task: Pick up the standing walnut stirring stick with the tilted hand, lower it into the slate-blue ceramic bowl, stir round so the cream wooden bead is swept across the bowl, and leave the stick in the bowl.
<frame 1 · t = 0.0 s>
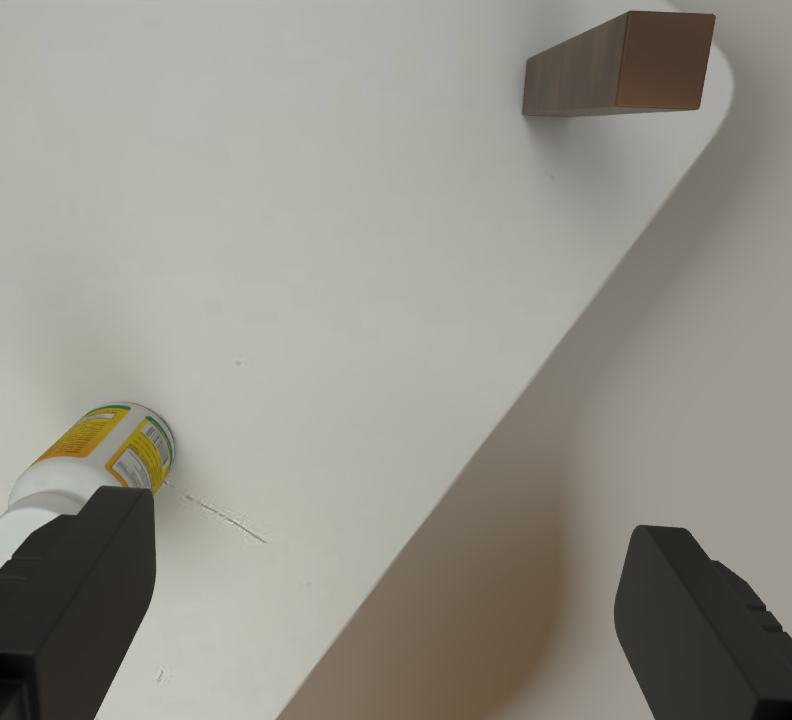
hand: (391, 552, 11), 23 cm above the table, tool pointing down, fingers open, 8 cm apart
supplement bottle: (128, 442, 36), on the table
stick: (550, 88, 30), on the table
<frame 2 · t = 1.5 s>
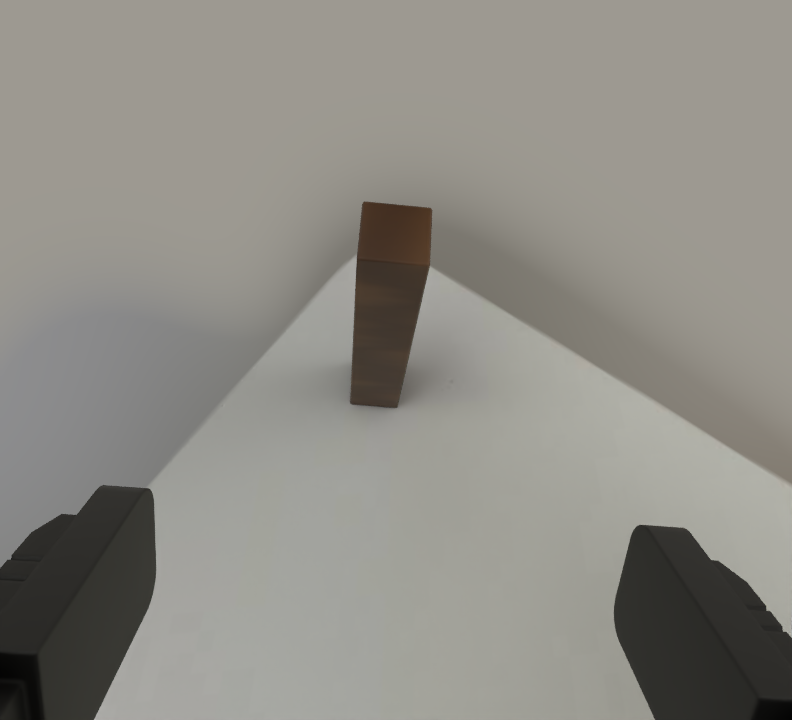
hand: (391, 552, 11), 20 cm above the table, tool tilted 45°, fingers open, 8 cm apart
stick: (375, 384, 34), on the table
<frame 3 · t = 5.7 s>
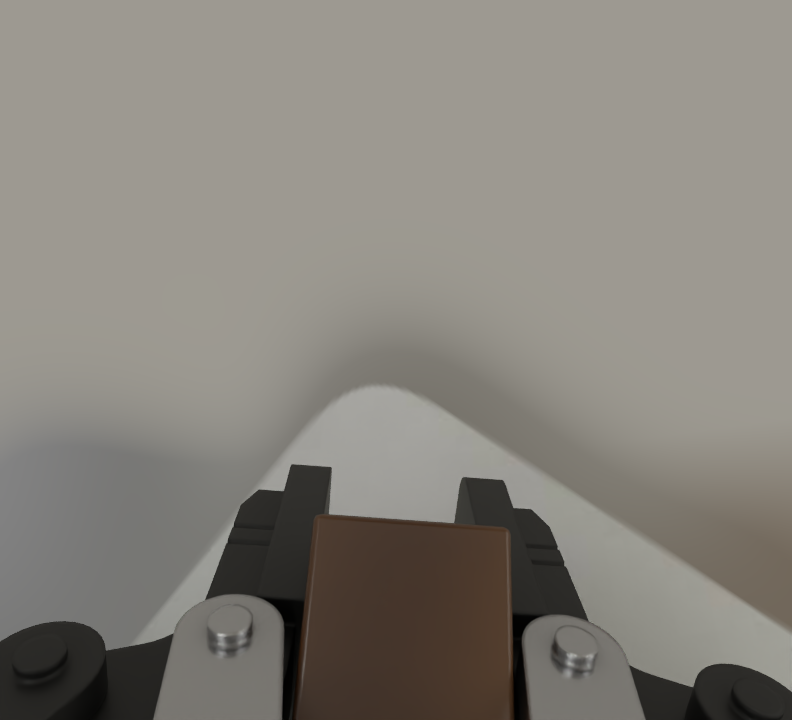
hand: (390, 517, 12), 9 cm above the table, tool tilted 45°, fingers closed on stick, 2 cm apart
stick: (365, 653, 19), on the table, touching gripper
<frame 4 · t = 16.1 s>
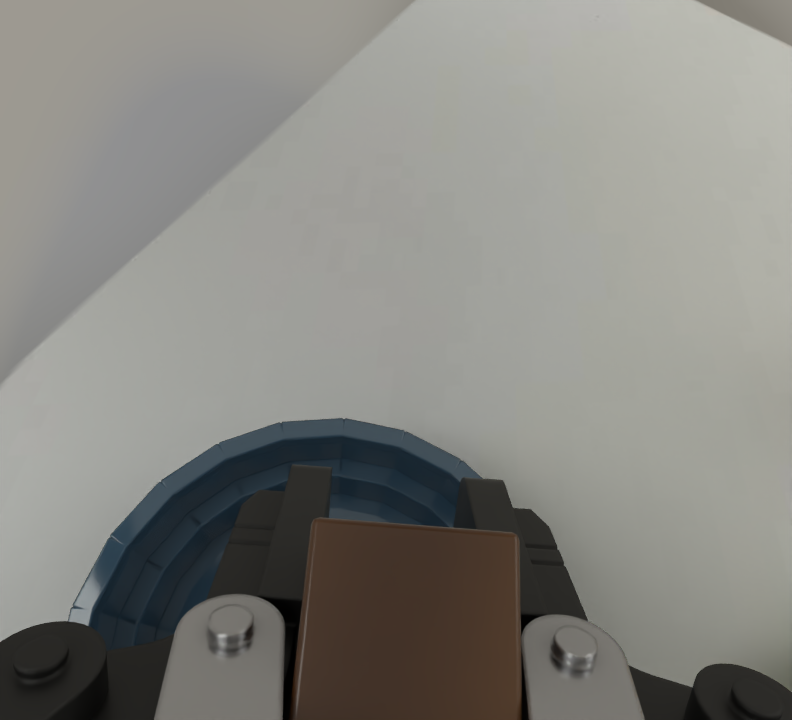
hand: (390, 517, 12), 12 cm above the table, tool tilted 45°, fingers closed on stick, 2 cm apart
bowl: (325, 663, 21), on the table
stick: (366, 646, 19), point 3 cm above the table, touching bead, gripper
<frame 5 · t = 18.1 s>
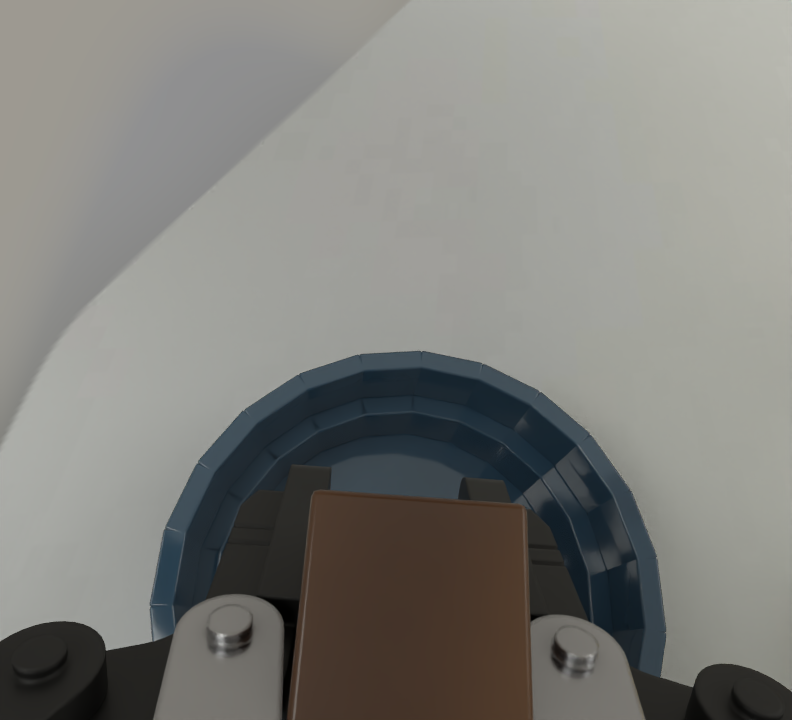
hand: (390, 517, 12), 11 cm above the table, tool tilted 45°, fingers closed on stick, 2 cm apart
bowl: (398, 599, 22), on the table
stick: (367, 642, 18), point 3 cm above the table, touching gripper
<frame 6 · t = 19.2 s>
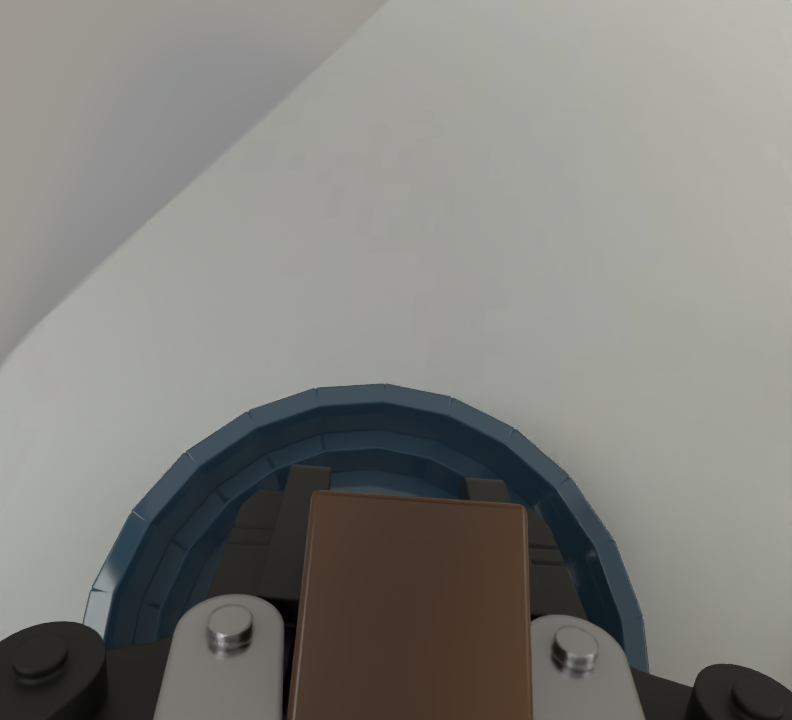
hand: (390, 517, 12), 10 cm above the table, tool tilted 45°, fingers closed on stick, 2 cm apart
bowl: (363, 651, 20), on the table
stick: (367, 642, 18), point 2 cm above the table, touching gripper
when the fingers open (9 cm above the table, at t = 19.7 s): stick stays where it is, resting on bowl.
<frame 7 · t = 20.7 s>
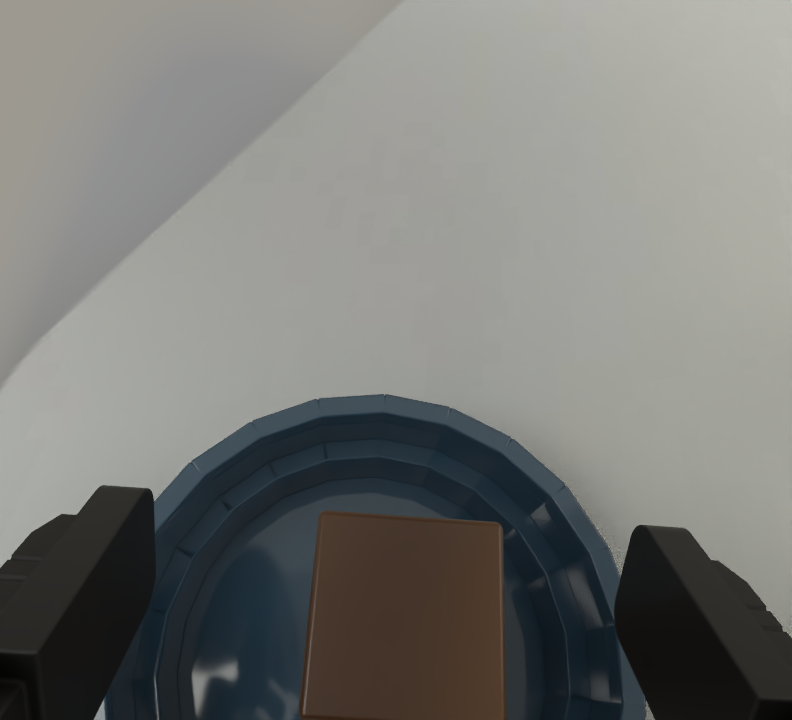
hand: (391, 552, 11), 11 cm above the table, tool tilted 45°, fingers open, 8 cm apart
bowl: (364, 656, 20), on the table
stick: (367, 648, 20), point 1 cm above the table, touching bowl
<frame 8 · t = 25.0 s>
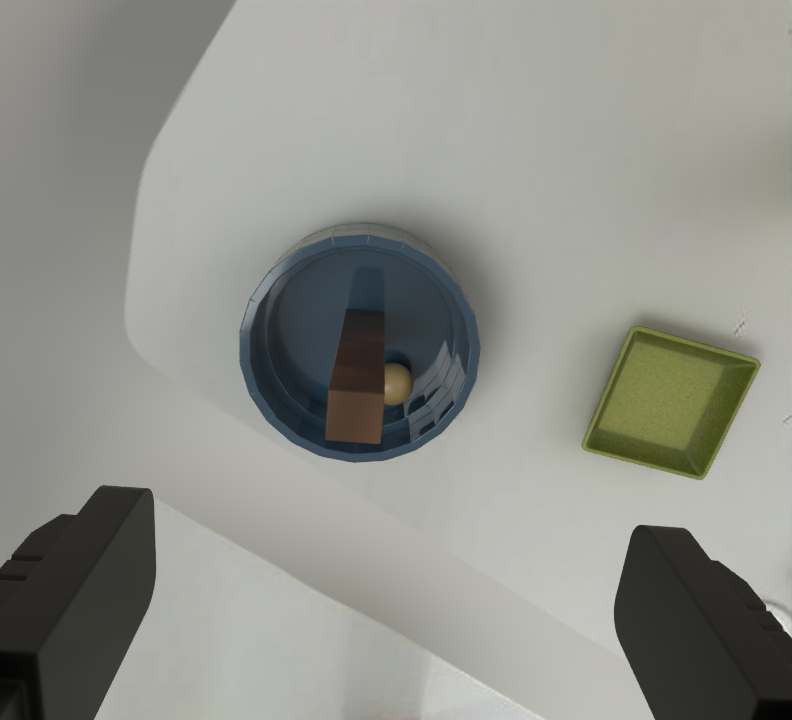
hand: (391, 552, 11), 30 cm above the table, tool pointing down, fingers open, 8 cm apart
bead: (392, 383, 40), point 2 cm above the table, tilted 142°, touching bowl
green square tray: (655, 392, 43), on the table
bowl: (362, 328, 41), on the table
stick: (363, 329, 40), point 1 cm above the table, touching bowl
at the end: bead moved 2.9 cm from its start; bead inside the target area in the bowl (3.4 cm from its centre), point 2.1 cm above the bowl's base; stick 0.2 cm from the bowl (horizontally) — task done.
